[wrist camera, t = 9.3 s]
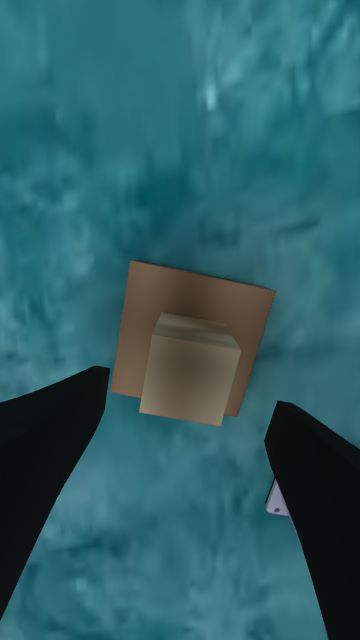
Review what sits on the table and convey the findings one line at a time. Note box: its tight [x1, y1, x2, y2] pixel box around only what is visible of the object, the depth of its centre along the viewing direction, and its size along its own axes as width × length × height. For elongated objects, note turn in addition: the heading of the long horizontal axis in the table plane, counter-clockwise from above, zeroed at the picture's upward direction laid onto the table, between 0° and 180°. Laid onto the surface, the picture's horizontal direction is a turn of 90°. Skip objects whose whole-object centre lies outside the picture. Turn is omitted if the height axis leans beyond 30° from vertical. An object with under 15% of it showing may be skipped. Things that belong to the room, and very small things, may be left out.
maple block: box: [139, 312, 241, 426], centre depth 15 cm, size 4×4×5 cm
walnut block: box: [111, 260, 276, 417], centre depth 19 cm, size 10×10×3 cm
